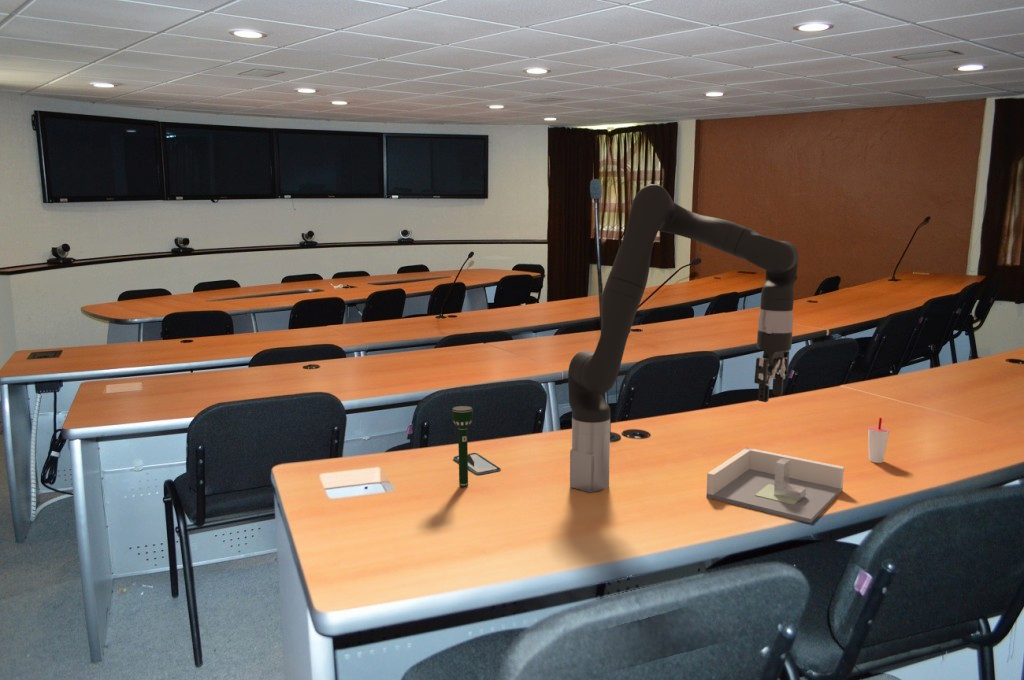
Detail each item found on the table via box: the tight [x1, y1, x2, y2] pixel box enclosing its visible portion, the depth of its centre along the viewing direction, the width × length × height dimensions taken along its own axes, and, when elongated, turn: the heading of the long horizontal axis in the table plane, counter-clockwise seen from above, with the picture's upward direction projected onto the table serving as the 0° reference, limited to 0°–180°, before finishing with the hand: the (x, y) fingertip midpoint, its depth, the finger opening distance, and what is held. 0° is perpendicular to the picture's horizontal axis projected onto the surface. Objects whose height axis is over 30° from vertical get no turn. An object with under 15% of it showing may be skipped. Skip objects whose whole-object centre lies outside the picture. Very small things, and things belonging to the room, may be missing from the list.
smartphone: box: [453, 452, 502, 476], centre depth 201 cm, size 7×1×15 cm
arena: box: [706, 447, 845, 524], centre depth 179 cm, size 24×24×6 cm
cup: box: [867, 417, 891, 464], centre depth 201 cm, size 5×5×12 cm
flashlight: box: [451, 404, 474, 489], centre depth 183 cm, size 5×5×20 cm
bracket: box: [774, 458, 806, 501], centre depth 174 cm, size 6×4×8 cm, turn 51°
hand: (770, 397), depth 175 cm, fingers open, 8 cm apart
